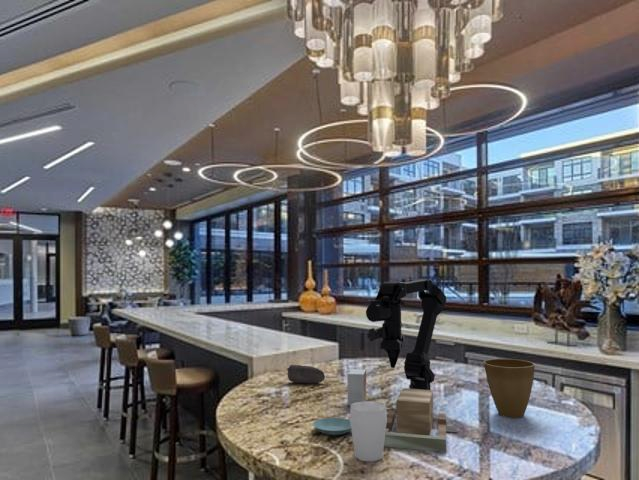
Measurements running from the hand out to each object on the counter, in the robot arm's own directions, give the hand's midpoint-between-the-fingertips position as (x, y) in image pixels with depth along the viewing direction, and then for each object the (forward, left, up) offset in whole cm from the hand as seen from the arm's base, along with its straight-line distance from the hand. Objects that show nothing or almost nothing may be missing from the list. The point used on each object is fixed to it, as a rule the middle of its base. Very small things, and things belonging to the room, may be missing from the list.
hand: (393, 367), depth 158 cm
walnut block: (+3, +19, -13) cm, 23 cm away
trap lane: (+6, +22, -13) cm, 27 cm away
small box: (+9, -9, -13) cm, 18 cm away
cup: (+26, +34, -13) cm, 45 cm away
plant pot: (-30, +20, -13) cm, 38 cm away
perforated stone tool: (+16, -42, -13) cm, 47 cm away
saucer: (+27, +14, -14) cm, 33 cm away
